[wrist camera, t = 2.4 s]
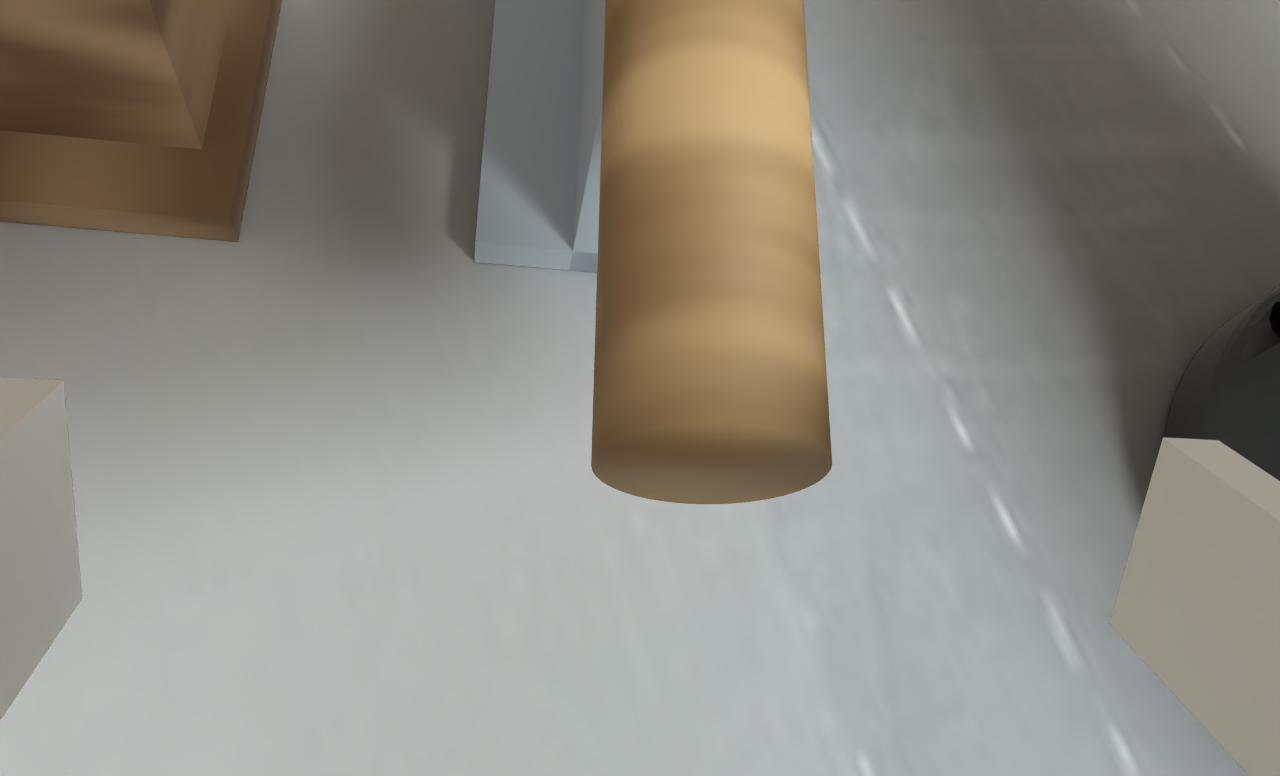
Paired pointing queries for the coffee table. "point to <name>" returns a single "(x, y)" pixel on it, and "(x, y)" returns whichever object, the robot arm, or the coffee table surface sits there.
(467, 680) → the coffee table surface
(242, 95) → the wooden stand
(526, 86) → the cradle
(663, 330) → the rod
